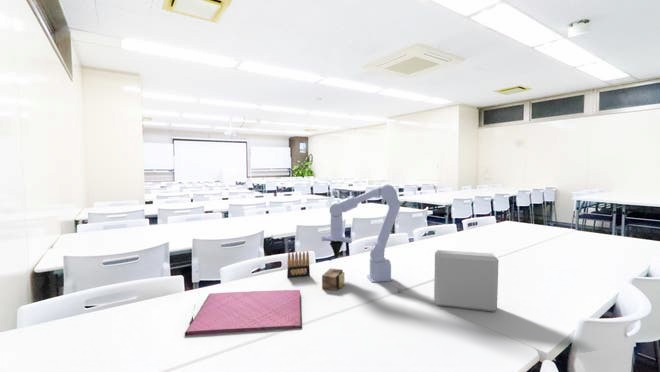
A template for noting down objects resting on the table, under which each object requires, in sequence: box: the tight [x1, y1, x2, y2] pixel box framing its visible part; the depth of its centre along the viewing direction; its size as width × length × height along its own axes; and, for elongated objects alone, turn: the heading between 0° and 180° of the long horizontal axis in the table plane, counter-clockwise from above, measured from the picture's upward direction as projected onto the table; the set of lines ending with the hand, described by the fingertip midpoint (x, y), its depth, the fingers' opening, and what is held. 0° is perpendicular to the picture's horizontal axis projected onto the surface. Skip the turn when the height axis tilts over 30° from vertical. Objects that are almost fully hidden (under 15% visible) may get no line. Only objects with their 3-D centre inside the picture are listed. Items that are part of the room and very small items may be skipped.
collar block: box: [321, 268, 343, 291], centre depth 133 cm, size 6×10×6 cm, turn 160°
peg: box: [338, 272, 345, 289], centre depth 133 cm, size 8×5×5 cm, turn 70°
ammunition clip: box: [286, 250, 311, 279], centre depth 144 cm, size 11×2×12 cm, turn 103°
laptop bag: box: [184, 289, 303, 337], centre depth 109 cm, size 40×4×27 cm
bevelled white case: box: [433, 249, 499, 312], centre depth 113 cm, size 21×8×20 cm, turn 74°
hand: (336, 256), depth 144 cm, fingers closed
